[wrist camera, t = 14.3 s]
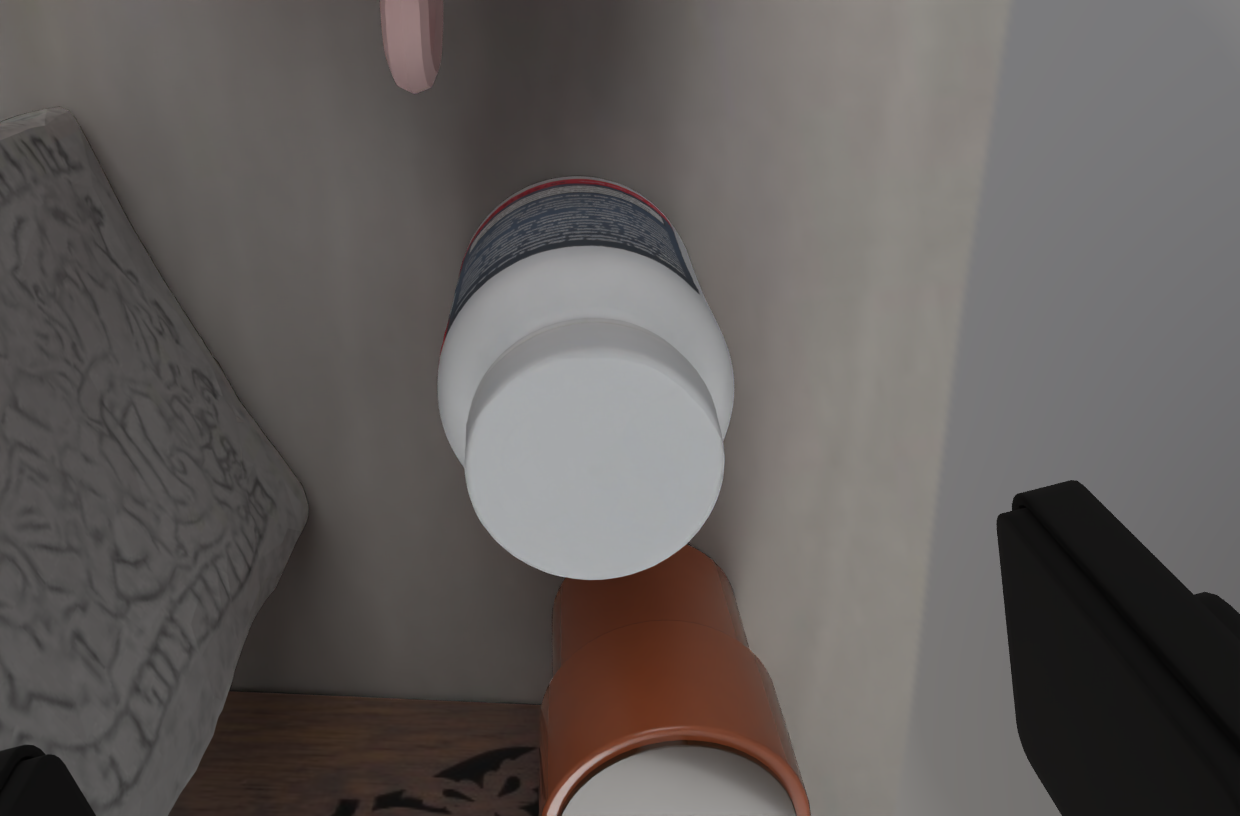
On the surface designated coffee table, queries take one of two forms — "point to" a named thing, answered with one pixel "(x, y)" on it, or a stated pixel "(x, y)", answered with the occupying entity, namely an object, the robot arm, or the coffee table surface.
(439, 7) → the mug
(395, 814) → the tissue box cover
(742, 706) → the orange cylinder
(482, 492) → the pill bottle
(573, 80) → the coffee table surface
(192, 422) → the decorative stone
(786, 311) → the coffee table surface
